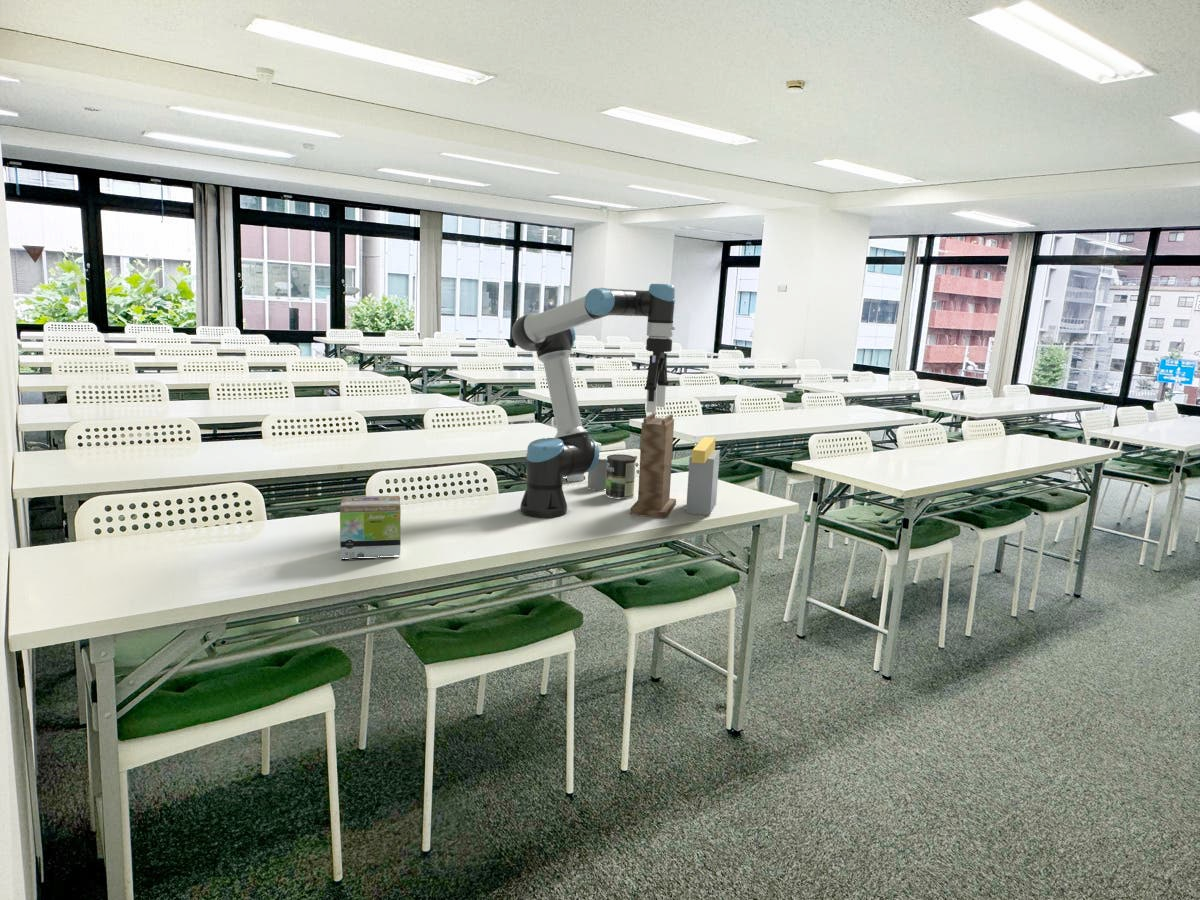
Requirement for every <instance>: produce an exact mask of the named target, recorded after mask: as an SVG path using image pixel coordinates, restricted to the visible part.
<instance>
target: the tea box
mask: <svg viewBox="0 0 1200 900" xmlns="http://www.w3.org/2000/svg"><path fill="white" fill-rule="evenodd" d="M400 499H401V498H400V495H376V496H374V495H372V496H370V495H368V496H363V495H362V496H341V502H340V506H339V525H340V526H339V527H340V528H339V531H340V532H339V536H340V537H339V539H340V540H339V543H340V544H339V545H340V546H339V549H340V551H339V552H340V559H341V558H342V559H343V558H344V559H345V558H358V557H378V556H379V557H380V556H394V555H400V556H401V543H402V542H401V538H402V537H401V532H402V531H401V514H402V513H401V500H400Z"/></svg>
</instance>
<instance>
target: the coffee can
mask: <svg viewBox="0 0 1200 900" xmlns="http://www.w3.org/2000/svg"><path fill="white" fill-rule="evenodd" d="M606 460H607V478H606V490H605V494H606V495H607V496H609V497H613V498H612V499H614V498H620V499H619V500H627V499H626V498H630V499H632V497H633V496H634V497H635V480H636V479H635V475H636V460H637V457H636V456H634V455H630V454H623V453H622V454H619V453H617V454H609V455H607V456H606ZM606 495H605V496H606ZM607 496H606V497H607ZM609 497H608V498H609ZM634 497H633V498H634Z"/></svg>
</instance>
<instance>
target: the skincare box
mask: <svg viewBox="0 0 1200 900" xmlns="http://www.w3.org/2000/svg"><path fill="white" fill-rule="evenodd" d="M584 474H585V473H584ZM584 474H577V475H571V476H567V480H566V481H567V482H583V481H584V478H585V475H584Z"/></svg>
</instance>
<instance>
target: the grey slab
mask: <svg viewBox="0 0 1200 900" xmlns="http://www.w3.org/2000/svg"><path fill="white" fill-rule="evenodd" d="M720 453H721V450H719V449H718V450H717V449H715V450H714V451H713V452H712V454H711V455H710V456H709V458H708V459H707V460H706V462H705V463H694V462H692V454H691V455H690V456H689V458H688V459H689V462H688V476H687V478H688V479H687V488H686V489H687V492H686V508H685V509H686V510H685V514H691V513H694V514H693V515H700V516H701V515H702V516H709V515H710V514H711V515H712V513H713V511H714V509H715V507H716V505H717V495H718V484H719V483H718V481H719V470H720V469H719V466H720V455H721V454H720ZM715 504H716V505H715ZM714 506H715V507H714ZM713 508H714V509H713ZM712 510H713V511H712ZM711 512H712V513H711ZM711 515H710V516H711Z"/></svg>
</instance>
